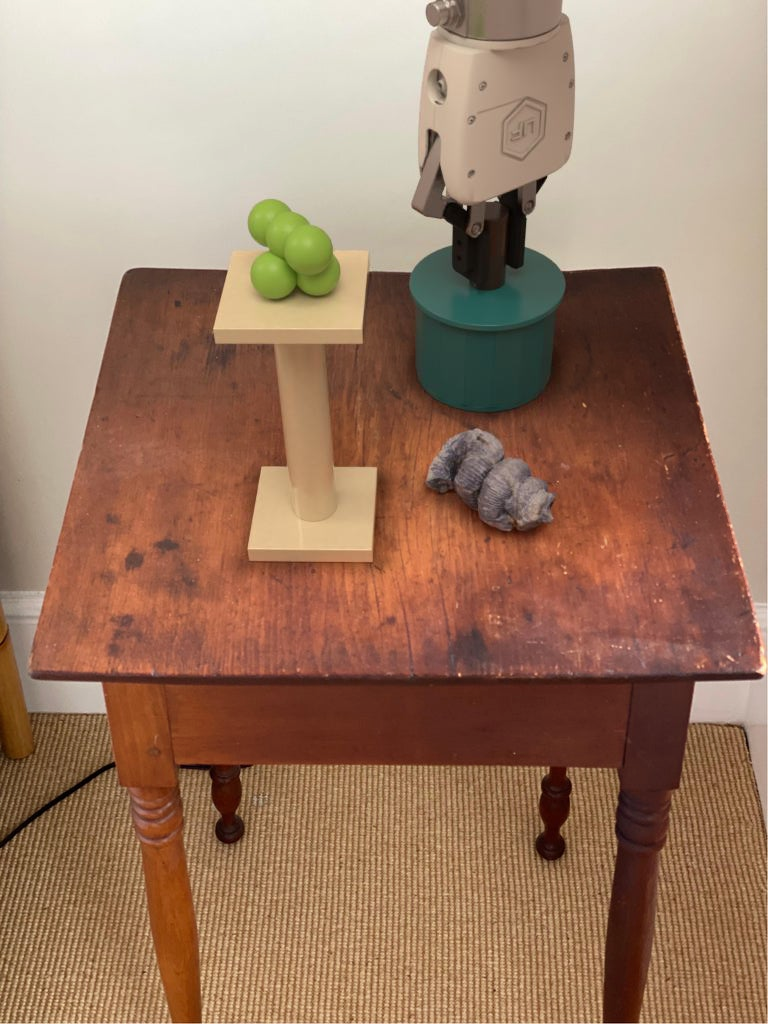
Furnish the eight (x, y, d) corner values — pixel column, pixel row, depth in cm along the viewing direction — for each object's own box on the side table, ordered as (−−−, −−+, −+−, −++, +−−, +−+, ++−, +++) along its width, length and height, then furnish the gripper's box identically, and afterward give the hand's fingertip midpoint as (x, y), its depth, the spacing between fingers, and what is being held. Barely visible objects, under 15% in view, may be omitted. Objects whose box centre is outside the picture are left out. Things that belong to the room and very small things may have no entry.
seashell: (432, 489, 79) (545, 562, 74) (400, 467, 75) (518, 544, 70) (474, 425, 79) (589, 494, 74) (444, 399, 74) (566, 471, 70)
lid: (596, 300, 81) (607, 215, 77) (477, 358, 77) (481, 272, 72) (494, 237, 88) (497, 156, 83) (378, 287, 83) (375, 205, 79)
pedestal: (378, 479, 78) (369, 249, 66) (372, 563, 73) (362, 328, 60) (262, 478, 79) (232, 250, 66) (248, 561, 73) (212, 328, 60)
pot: (577, 376, 86) (587, 292, 81) (475, 430, 82) (478, 345, 77) (489, 317, 92) (493, 235, 87) (390, 364, 88) (387, 281, 83)
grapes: (357, 298, 62) (353, 224, 59) (287, 328, 60) (280, 254, 57) (294, 252, 66) (288, 181, 63) (227, 279, 64) (217, 207, 61)
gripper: (433, 56, 62) (432, 333, 75) (639, -13, 69) (606, 252, 82) (353, 17, 67) (365, 285, 80) (555, -44, 74) (536, 212, 86)
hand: (487, 266), depth 81 cm, fingers closed on lid, 2 cm apart
